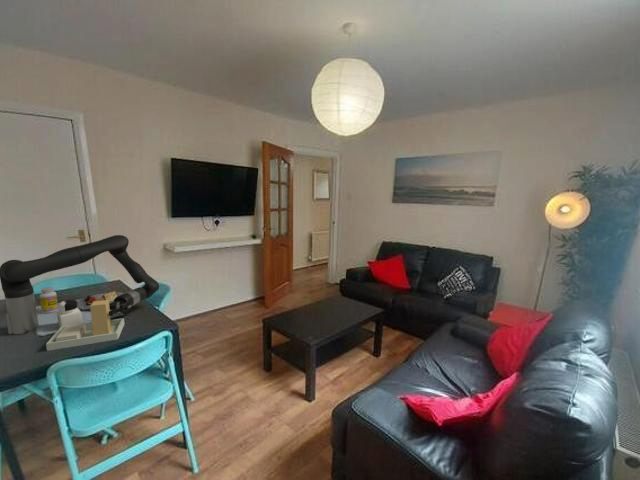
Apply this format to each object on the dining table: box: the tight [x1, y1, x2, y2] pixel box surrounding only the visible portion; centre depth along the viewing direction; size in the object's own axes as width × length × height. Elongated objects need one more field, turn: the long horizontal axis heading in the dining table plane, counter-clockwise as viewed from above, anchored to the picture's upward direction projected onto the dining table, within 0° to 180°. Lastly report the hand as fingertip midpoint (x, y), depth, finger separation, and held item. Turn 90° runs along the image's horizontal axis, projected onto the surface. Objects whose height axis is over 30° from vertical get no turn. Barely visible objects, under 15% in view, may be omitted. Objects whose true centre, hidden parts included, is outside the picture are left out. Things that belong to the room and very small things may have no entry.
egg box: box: [56, 322, 86, 342], centre depth 127 cm, size 7×12×4 cm, turn 25°
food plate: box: [77, 290, 125, 310], centre depth 169 cm, size 25×23×4 cm
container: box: [56, 299, 84, 328], centre depth 138 cm, size 8×8×13 cm
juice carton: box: [89, 300, 112, 336], centre depth 130 cm, size 6×6×15 cm
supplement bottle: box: [39, 286, 59, 314], centre depth 155 cm, size 7×7×13 cm
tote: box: [45, 317, 126, 352], centre depth 129 cm, size 24×16×4 cm, turn 115°
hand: (100, 313), depth 130 cm, fingers open, 8 cm apart
